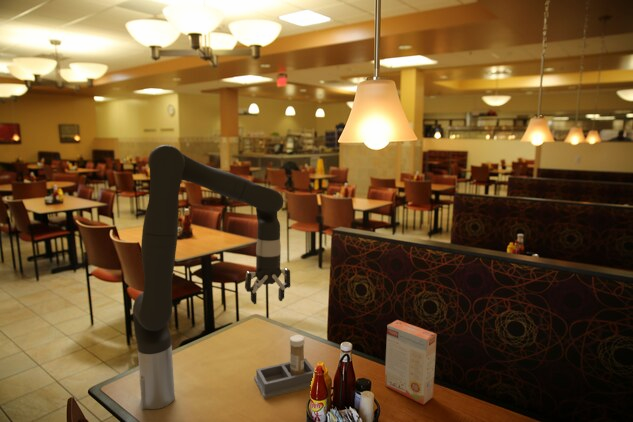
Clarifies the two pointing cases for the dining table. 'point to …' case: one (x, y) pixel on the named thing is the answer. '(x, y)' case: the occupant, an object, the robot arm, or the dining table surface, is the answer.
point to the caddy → (282, 379)
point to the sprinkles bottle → (297, 355)
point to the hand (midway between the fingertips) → (267, 301)
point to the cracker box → (410, 361)
